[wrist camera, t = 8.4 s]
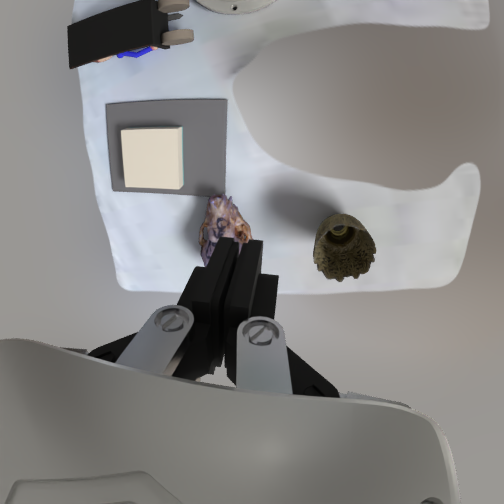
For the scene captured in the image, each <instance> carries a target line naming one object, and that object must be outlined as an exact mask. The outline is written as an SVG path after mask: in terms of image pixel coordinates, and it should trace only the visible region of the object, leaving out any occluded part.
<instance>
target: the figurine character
mask: <svg viewBox="0 0 504 504" xmlns="http://www.w3.org/2000/svg"><path fill="white" fill-rule="evenodd" d="M187 8H189V0H158V1H155V0H140V1H136V2H133V3H130V4H126V5H123V6H120V7H117V8H114V9H111V10H108V11H105V12H102V13H99V14H97V15H94V16H91V17H89V18H86V19H84V20H81V21H79V22H76V23H74V24H72V25H69V26H68V53H69V67H70V69H73V68H76V67H79V66H82V65H85V64H88V63H91V62H97V63H98V62H104V61H106V60H108V59H110V58H111V57H112V56H113V55H117V57H118V58H122V57H123V56H130V57H136V58H137V57H139V56H141V55H143V54H146V53H148V52H150V51H152V50H156V49H158V48H162V49H169V48H170V45H178V44H184V43H188V42H192V41H193V40H194V35H193V30H190V29H180V30H173V31H169V29H168V21H171V20H176V19H180V18H181V17H182V16H183V15H181V14H179V13H177V14H173V15H168V13H171V12H178V11H182V10H185V9H187ZM147 46H149V47H147ZM143 47H147V48H145V49H143V50H141V51H139V52H137V53H136V52H130V51H131V50H135V49H139V48H143Z"/></svg>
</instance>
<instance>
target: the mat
mask: <svg viewBox="0 0 504 504" xmlns="http://www.w3.org/2000/svg"><path fill="white" fill-rule="evenodd" d="M106 108H107V128H108V143H109V155H110V166H111V176H112V185H113V191H119V192H142V193H162V194H179V195H194V196H208V197H211V196H213V195H214V194H215V195H221V196H222V194H224V195H225V175H226V132H227V100H213V99H194V100H159V101H142V102H129V103H117V104H108V105H106ZM161 126H183V167H184V185H183V186H182V187H181V188H180V189H160V188H137V187H125V177H124V166H123V154H122V140H121V130H123V129H126V128H130V127H161Z"/></svg>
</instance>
